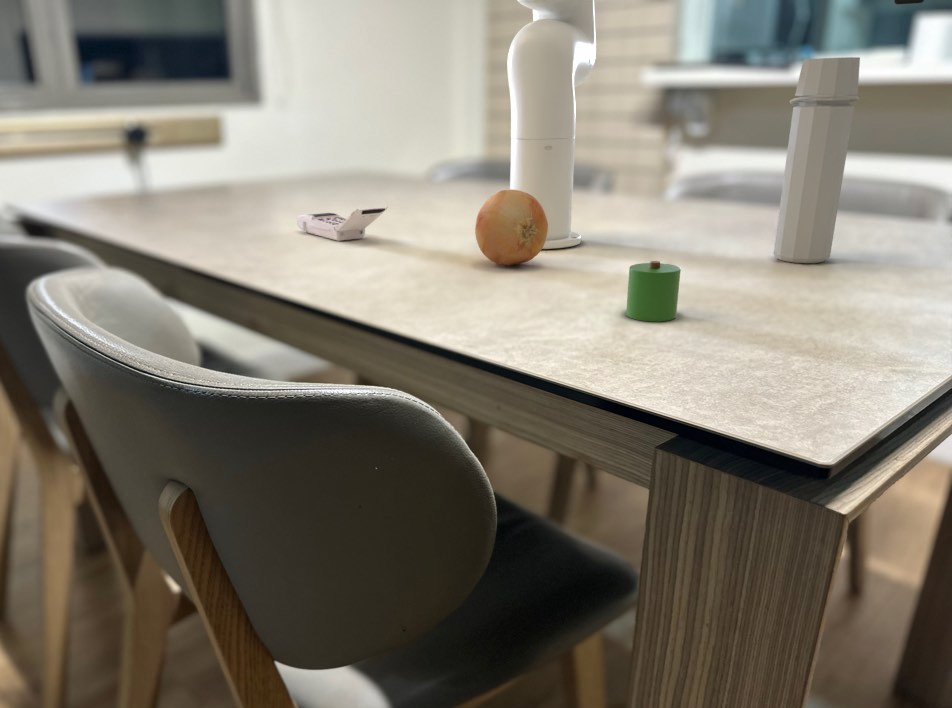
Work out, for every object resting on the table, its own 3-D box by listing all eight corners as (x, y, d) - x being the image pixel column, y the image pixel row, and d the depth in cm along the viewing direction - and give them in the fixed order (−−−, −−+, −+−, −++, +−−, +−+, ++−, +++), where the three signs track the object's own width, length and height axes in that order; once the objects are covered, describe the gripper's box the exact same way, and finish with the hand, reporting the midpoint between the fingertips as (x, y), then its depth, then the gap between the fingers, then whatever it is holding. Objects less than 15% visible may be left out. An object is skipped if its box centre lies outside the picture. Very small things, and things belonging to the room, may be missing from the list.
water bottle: (840, 265, 105) (874, 56, 96) (775, 264, 106) (803, 58, 98) (821, 252, 113) (851, 59, 104) (761, 251, 115) (786, 61, 106)
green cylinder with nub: (620, 318, 83) (624, 264, 81) (632, 307, 87) (636, 255, 85) (671, 323, 81) (676, 268, 79) (680, 312, 85) (685, 258, 83)
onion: (505, 275, 104) (506, 196, 100) (460, 264, 112) (460, 189, 108) (562, 266, 109) (565, 189, 105) (515, 255, 117) (516, 184, 113)
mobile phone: (357, 209, 123) (287, 195, 143) (358, 248, 125) (289, 229, 145) (391, 206, 126) (317, 193, 146) (391, 244, 128) (319, 226, 148)
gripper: (898, -148, 98) (873, 8, 104) (906, -189, 84) (876, -5, 90) (972, -158, 95) (941, 4, 101) (993, -202, 80) (956, -10, 86)
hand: (911, 0), depth 95 cm, fingers open, 9 cm apart
